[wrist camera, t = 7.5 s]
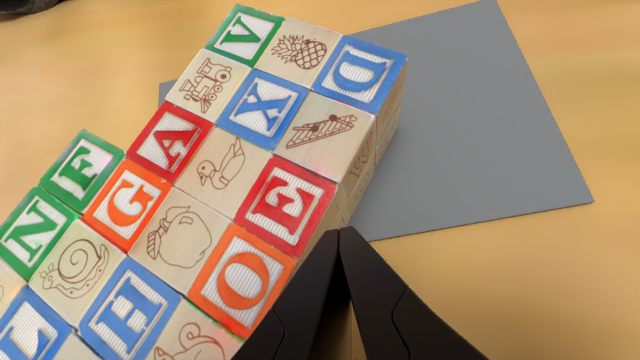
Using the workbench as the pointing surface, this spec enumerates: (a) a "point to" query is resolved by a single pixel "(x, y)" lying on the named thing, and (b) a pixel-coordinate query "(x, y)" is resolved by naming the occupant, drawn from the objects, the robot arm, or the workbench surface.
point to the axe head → (25, 6)
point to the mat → (463, 130)
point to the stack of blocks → (200, 199)
